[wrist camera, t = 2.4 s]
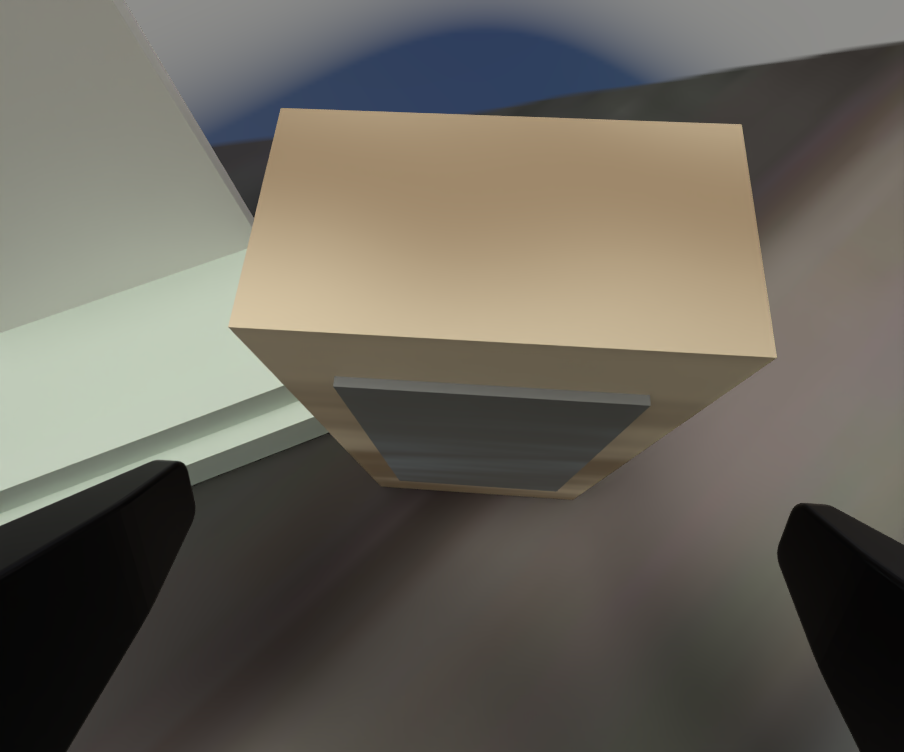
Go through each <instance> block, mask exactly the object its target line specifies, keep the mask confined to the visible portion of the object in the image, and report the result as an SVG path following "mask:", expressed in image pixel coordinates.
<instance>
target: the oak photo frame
mask: <svg viewBox="0 0 904 752" xmlns="http://www.w3.org/2000/svg"><path fill="white" fill-rule="evenodd" d="M228 327H229V329H230V330H231V331H232V332H233V333H234V334H235V335H236V336H237V337H238V338H239V339H240V340H241V341H242V342H243V343H244V344H245V345H246V346H247V347H248V348H249V349H250V350H251V351H252V352H253V354H254V355H255V356H256V357H257V358H258V359H259V360H260V361H261V362H262V363H263V364H264V365H265V366H266V367H267V368H268V369H269V370H270V371H271V372H272V373H273V374H274V375H275V376H276V377H277V379H278V380H279V381H280V382H281V383H282V384H283V385H284V386H285V387H286V388H287V389H288V390H289V391H290V392H291V393H292V394H293V395H294V396H295V397H296V398H297V399H298V400H299V401H300V402H301V404H302V405H303V406H304V407H305V408H306V409H307V410H308V411H309V412H310V413H311V414H312V415H313V416H314V417H315V418H316V419H317V420H318V421H319V422H320V423H321V424H322V425H323V426H324V427H325V429H326V430H327V431H328V432H329V433H330V434H331V435H332V436H333V437H334V438H335V439H336V440H337V441H338V442H339V443H340V444H341V445H342V446H343V447H344V448H345V449H346V450H347V451H348V452H349V454H350V455H351V456H352V457H353V458H354V459H355V460H356V461H357V462H358V463H359V464H360V465H361V466H362V467H363V468H364V469H365V470H366V471H367V472H368V473H369V474H370V475H371V476H372V478H373V479H374V480H375V481H376V482H377V483H378V484H379V485H380V486H381V487H395V488H410V489H424V490H438V491H453V492H467V493H482V494H496V495H510V496H525V497H539V498H553V499H568V500H573V499H575V498H576V497H578V496H579V495H581V494H582V493H583V492H585V491H586V490H588V489H589V488H591V487H592V486H594V485H595V484H596V483H598V482H599V481H601V480H602V479H604V478H605V477H606V476H608V475H609V474H611V473H612V472H614V471H615V470H616V469H618V468H619V467H621V466H622V465H624V464H625V463H627V462H628V461H629V460H631V459H632V458H634V457H635V456H637V455H638V454H639V453H641V452H642V451H644V450H645V449H647V448H648V447H649V446H651V445H652V444H654V443H655V442H657V441H658V440H660V439H661V438H662V437H664V436H665V435H667V434H668V433H670V432H671V431H672V430H674V429H675V428H677V427H678V426H680V425H681V424H682V423H684V422H685V421H687V420H688V419H690V418H691V417H693V416H694V415H695V414H697V413H698V412H700V411H701V410H703V409H704V408H705V407H707V406H708V405H710V404H711V403H713V402H714V401H716V400H717V399H718V398H720V397H721V396H723V395H724V394H726V393H727V392H728V391H730V390H731V389H733V388H734V387H736V386H737V385H738V384H740V383H741V382H743V381H744V380H746V379H747V378H749V377H750V376H751V375H753V374H754V373H756V372H757V371H759V370H760V369H761V368H763V367H764V366H766V365H767V364H769V363H770V362H771V361H773V360H774V359H776V358H777V355H776V348H775V342H774V335H773V329H772V322H771V316H770V309H769V302H768V296H767V289H766V283H765V276H764V269H763V263H762V256H761V250H760V243H759V237H758V230H757V223H756V217H755V210H754V204H753V197H752V190H751V184H750V177H749V171H748V164H747V158H746V151H745V144H744V138H743V131H742V125H740V124H712V123H684V122H656V121H628V120H600V119H572V118H543V117H515V116H487V115H459V114H431V113H402V112H401V113H400V112H375V111H374V112H373V111H372V112H371V111H346V110H319V109H291V108H281V110H280V114H279V118H278V122H277V127H276V131H275V135H274V139H273V143H272V147H271V151H270V156H269V160H268V164H267V168H266V172H265V176H264V180H263V184H262V189H261V193H260V197H259V201H258V205H257V209H256V213H255V218H254V222H253V226H252V230H251V234H250V238H249V242H248V247H247V251H246V255H245V259H244V263H243V267H242V271H241V276H240V280H239V284H238V288H237V292H236V296H235V300H234V305H233V309H232V313H231V317H230V321H229V325H228Z"/></svg>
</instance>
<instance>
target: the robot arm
mask: <svg viewBox="0 0 904 752" xmlns="http://www.w3.org/2000/svg"><path fill="white" fill-rule="evenodd" d="M194 515H195V501H194V497H193V492H192V487H191V482H190V478H189V473H188V469H187V467H186V465H185V464H184V463H183V462H181V461H173V460H153V461H150V462H148V463H146V464H143V465H141V466H139V467H136V468H134V469H132V470H129V471H127V472H125V473H122V474H120V475H118V476H115V477H113V478H111V479H108V480H106V481H104V482H101V483H99V484H97V485H94V486H92V487H90V488H87V489H85V490H83V491H80V492H78V493H76V494H73V495H71V496H69V497H66V498H64V499H62V500H59V501H57V502H55V503H52V504H50V505H48V506H45V507H43V508H41V509H38V510H36V511H34V512H31V513H29V514H26V515H24V516H22V517H19V518H17V519H15V520H12V521H10V522H8V523H5V524H3V525H1V526H0V752H67V750H68V748H69V747H70V745H71V743H72V742H73V740H74V738H75V737H76V735H77V733H78V732H79V730H80V728H81V727H82V725H83V723H84V722H85V720H86V718H87V717H88V715H89V713H90V712H91V710H92V708H93V707H94V705H95V703H96V702H97V700H98V698H99V697H100V695H101V693H102V692H103V690H104V688H105V687H106V685H107V683H108V682H109V680H110V678H111V676H112V675H113V673H114V671H115V670H116V668H117V666H118V665H119V663H120V661H121V660H122V658H123V656H124V655H125V653H126V651H127V650H128V648H129V646H130V645H131V643H132V641H133V640H134V638H135V636H136V635H137V633H138V631H139V630H140V628H141V626H142V624H143V623H144V621H145V619H146V617H147V616H148V614H149V612H150V610H151V608H152V606H153V604H154V602H155V600H156V598H157V596H158V594H159V592H160V590H161V588H162V586H163V584H164V581H165V579H166V577H167V575H168V573H169V571H170V569H171V567H172V564H173V562H174V560H175V558H176V556H177V554H178V552H179V549H180V547H181V545H182V543H183V541H184V539H185V537H186V535H187V532H188V530H189V528H190V526H191V524H192V522H193V519H194ZM777 556H778V562H779V566H780V568H781V571H782V574H783V576H784V579H785V582H786V584H787V587H788V589H789V592H790V595H791V597H792V600H793V603H794V605H795V608H796V611H797V613H798V616H799V618H800V621H801V624H802V626H803V629H804V632H805V634H806V637H807V640H808V642H809V645H810V647H811V650H812V652H813V655H814V657H815V660H816V662H817V664H818V667H819V669H820V671H821V673H822V675H823V678H824V680H825V682H826V684H827V686H828V688H829V690H830V692H831V694H832V696H833V698H834V700H835V702H836V704H837V706H838V708H839V710H840V712H841V714H842V716H843V718H844V720H845V722H846V724H847V726H848V728H849V730H850V732H851V734H852V736H853V738H854V740H855V742H856V745H857V747H858V749H859V751H860V752H904V545H903V544H901V543H899V542H897V541H896V540H894V539H892V538H890V537H888V536H886V535H884V534H883V533H881V532H879V531H877V530H875V529H873V528H871V527H870V526H868V525H866V524H864V523H862V522H860V521H858V520H857V519H855V518H853V517H851V516H849V515H847V514H845V513H844V512H842V511H840V510H838V509H836V508H834V507H832V506H830V505H826V504H811V503H800V504H797V505H796V506H795V507H794V508H793V509H792V511H791V513H790V516H789V518H788V521H787V524H786V526H785V529H784V532H783V534H782V537H781V540H780V542H779V545H778V551H777Z"/></svg>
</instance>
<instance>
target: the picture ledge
mask: <svg viewBox="0 0 904 752" xmlns="http://www.w3.org/2000/svg"><path fill="white" fill-rule="evenodd" d="M253 222H254V218H253V216H252V214H251V213H250V211H249V209H248V208H247V206H246V204H245V203H244V201H243V199H242V198H241V196H240V194H239V193H238V191H237V189H236V188H235V186H234V184H233V183H232V181H231V179H230V177H229V176H228V174H227V172H226V171H225V169H224V167H223V166H222V164H221V162H220V161H219V159H218V157H217V156H216V154H215V152H214V151H213V149H212V147H211V146H210V144H209V142H208V140H207V139H206V137H205V136H204V134H203V132H202V130H201V129H200V127H199V125H198V124H197V122H196V120H195V119H194V117H193V115H192V114H191V112H190V110H189V109H188V107H187V105H186V103H185V102H184V100H183V98H182V97H181V95H180V93H179V92H178V90H177V88H176V87H175V85H174V83H173V82H172V80H171V78H170V77H169V75H168V73H167V71H166V70H165V68H164V67H163V65H162V63H161V61H160V60H159V58H158V56H157V55H156V53H155V51H154V50H153V48H152V46H151V45H150V43H149V41H148V40H147V38H146V36H145V35H144V33H143V31H142V29H141V28H140V26H139V24H138V23H137V21H136V19H135V18H134V16H133V14H132V13H131V11H130V9H129V8H128V6H127V4H126V3H125V1H124V0H0V526H1V525H3V524H5V523H8V522H10V521H12V520H15V519H17V518H19V517H22V516H24V515H26V514H29V513H31V512H34V511H36V510H38V509H41V508H43V507H45V506H48V505H50V504H52V503H55V502H57V501H59V500H62V499H64V498H66V497H69V496H71V495H73V494H76V493H78V492H80V491H83V490H85V489H87V488H90V487H92V486H94V485H97V484H99V483H101V482H104V481H106V480H108V479H111V478H113V477H115V476H118V475H120V474H122V473H125V472H127V471H129V470H132V469H134V468H136V467H139V466H141V465H143V464H146V463H148V462H150V461H153V460H173V461H181V462H183V463H184V464H185V465H186V467H187V469H188V473H189V478H190V482H191V486H192V485H194V484H197V483H200V482H202V481H205V480H207V479H210V478H212V477H215V476H218V475H220V474H223V473H225V472H228V471H231V470H233V469H236V468H238V467H241V466H244V465H246V464H249V463H251V462H254V461H256V460H259V459H262V458H264V457H267V456H269V455H272V454H275V453H277V452H280V451H282V450H285V449H288V448H290V447H293V446H295V445H298V444H300V443H303V442H306V441H308V440H311V439H313V438H316V437H319V436H321V435H324V434H326V433H329V432H328V431H327V430H326V429H325V427H324V426H323V425H322V424H321V423H320V422H319V421H318V420H317V419H316V418H315V417H314V416H313V415H312V414H311V413H310V412H309V411H308V410H307V409H306V408H305V407H304V406H303V405H302V404H301V402H300V401H299V400H298V399H297V398H296V397H295V396H294V395H293V394H292V393H291V392H290V391H289V390H288V389H287V388H286V387H285V386H284V385H283V384H282V383H281V382H280V381H279V380H278V379H277V377H276V376H275V375H274V374H273V373H272V372H271V371H270V370H269V369H268V368H267V367H266V366H265V365H264V364H263V363H262V362H261V361H260V360H259V359H258V358H257V357H256V356H255V355H254V354H253V352H252V351H251V350H250V349H249V348H248V347H247V346H246V345H245V344H244V343H243V342H242V341H241V340H240V339H239V338H238V337H237V336H236V335H235V334H234V333H233V332H232V331H231V330H230V329H229V327H228V325H229V321H230V317H231V313H232V309H233V305H234V300H235V296H236V292H237V288H238V284H239V280H240V276H241V271H242V267H243V263H244V259H245V255H246V251H247V247H248V242H249V238H250V234H251V230H252V226H253Z"/></svg>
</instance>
